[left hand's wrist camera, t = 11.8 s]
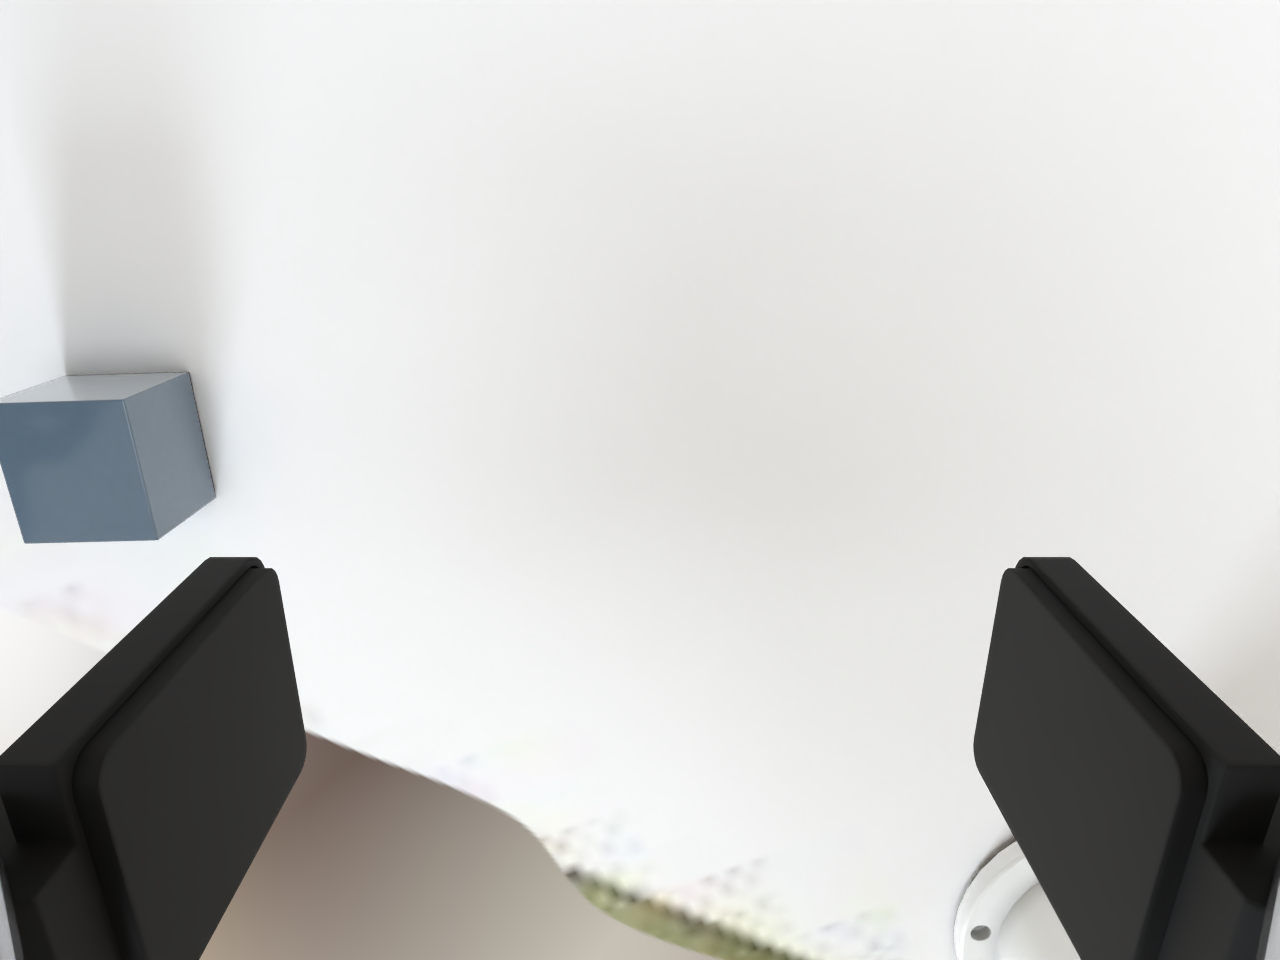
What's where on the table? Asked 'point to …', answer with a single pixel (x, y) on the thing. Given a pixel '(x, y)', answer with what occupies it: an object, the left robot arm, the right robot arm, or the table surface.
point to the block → (104, 457)
